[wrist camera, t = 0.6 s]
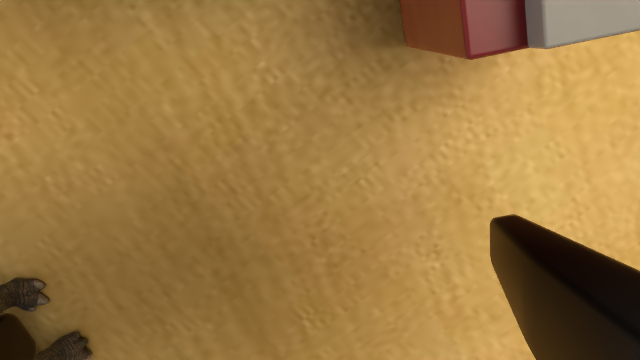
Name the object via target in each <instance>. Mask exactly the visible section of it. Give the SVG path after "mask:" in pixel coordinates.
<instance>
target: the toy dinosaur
mask: <svg viewBox="0 0 640 360" xmlns="http://www.w3.org/2000/svg"><path fill="white" fill-rule="evenodd" d="M44 286H45V285H44V283H42V282H41V281H38V280H35V279H20V278H15V279H13V280H11V281H10V282H8V283H6V284H3V285H0V314H3V311H4V310H6V309H8V308H10V307H19V308H21V309H22V310H25V311H31V312H32V311H35V310H36V306H38V305H45V304H47V303H48V302H49V300H48V298H47V297H45V296H44V295H42V294H40V293H39V292H38V291H39V290H40V289H42V288H43V287H44ZM86 344H87V340H86V339H80V334H79V333H72V334H70V335H65V336H63V337H61V338H60V339H58V340H57V341H55V342H54V343H53V344H52V345H51V346H50V347H49V348H47V349H45V350H43V351H41V352H39V353H37V354H36V357H35V360H88V359H90V358H91V354H90V353H89V352H88V351H87V350H86V349H85V348H84V346H85V345H86Z"/></svg>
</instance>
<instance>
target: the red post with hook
mask: <svg viewBox="0 0 640 360" xmlns="http://www.w3.org/2000/svg"><path fill="white" fill-rule="evenodd" d="M399 1H400V7H401V14H402V21H403V27H404V34H405V41H406V46H408V47H413V48H418V49H422V50H427V51H432V52H437V53H441V54H446V55H451V56H456V57H460V58H465V59H470V60H472V59H477V58H482V57H487V56H492V55H496V54H501V53H506V52H511V51H516V50H521V49H526V48H540V49H550V48H555V47H560V46H565V45H570V44H575V43H579V42H584V41H589V40H594V39H599V38H604V37H609V36H614V35H619V34H624V33H629V32H634V31H639V30H640V0H399Z"/></svg>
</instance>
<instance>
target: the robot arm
mask: <svg viewBox="0 0 640 360" xmlns="http://www.w3.org/2000/svg"><path fill="white" fill-rule="evenodd" d="M490 256H491V261H492V265H493V267H494V270H495V272H496V274H497V277H498V279H499V281H500V284H501V286H502V288H503V290H504V293H505V295H506V297H507V300H508V302H509V304H510V307H511V309H512V311H513V313H514V316H515V318H516V320H517V323H518V325H519V327H520V329H521V332H522V334H523V336H524V338H525V340H526V342H527V344H528V346H529V348H530V350H531V351H532V353H533V355H534V357H535V358H536V360H640V271H639V270H637V269H634V268H632V267H630V266H628V265H626V264H623V263H621V262H619V261H617V260H615V259H612V258H610V257H608V256H606V255H604V254H601V253H599V252H597V251H595V250H593V249H590V248H588V247H586V246H584V245H582V244H579V243H577V242H575V241H573V240H571V239H568V238H566V237H564V236H562V235H560V234H557V233H555V232H553V231H551V230H549V229H546V228H544V227H542V226H540V225H538V224H535V223H533V222H531V221H529V220H527V219H524V218H522V217H520V216H518V215H514V214H512V215H506V216H501V217H496V218H493V219H492V220H491V223H490ZM36 353H37V347H36V343H35V341H34V339H33V338H32V336H31V335H30V334H29V332H28V331H27V330H26V328H25V327H24V326H23V324H22V323H21V321H20V320H19V319H18V317H17V316H15V315H14V314H12V313H4V314H0V360H35V357H36Z"/></svg>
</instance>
